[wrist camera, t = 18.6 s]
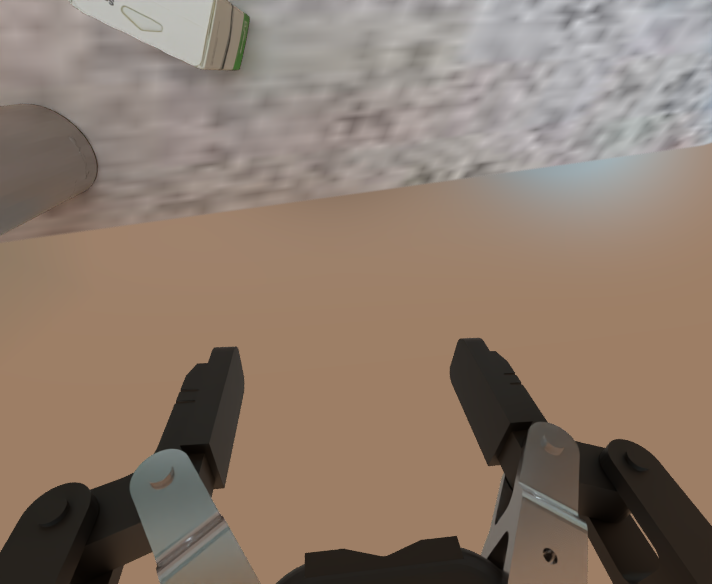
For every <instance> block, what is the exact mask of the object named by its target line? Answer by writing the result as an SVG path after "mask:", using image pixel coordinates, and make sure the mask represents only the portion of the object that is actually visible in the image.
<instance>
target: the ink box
mask: <svg viewBox="0 0 712 584" xmlns="http://www.w3.org/2000/svg"><path fill="white" fill-rule="evenodd" d="M69 2H70V3H71V5H72V6H73V7H75V8H77V9H78V10H80V11H81V12H82V13H83V14H86V15H88V16H91V17H93V18H95V19H97V20H99V21H101V22H102V23H104V24H106V25H108V26H110V27H112V28H115V29H117V30H120V31H122V32H124V33H126V34H128V35H130V36H132V37H134V38H136V39H137V40H139V41H142V42H144V43H146V44H148V45H151V46H153V47H155V48H157V49H159V50H161V51H163V52H164V53H166V54H169V55H171V56H173V57H175V58H177V59H180V60H182V61H184V62H186V63H188V64H190V65H192V66H194V67H196V68H199V69H205V70H239V69H240V65H241V61H242V57H243V52H244V47H245V43H246V38H247V32H248V26H249V16H248V15H247V14H245V13H244V12H242V11H241V10H240V9H238V8H237V7H235V6H234V5H233V4H231V3H230V2H228V1H227V0H69Z"/></svg>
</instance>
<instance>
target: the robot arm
mask: <svg viewBox="0 0 712 584" xmlns="http://www.w3.org/2000/svg"><path fill="white" fill-rule="evenodd" d="M96 173H97V163H96V159H95V155H94V153H93V150H92V148H91V146H90V144H89V143H88V141H87V140H86V138H85V137H84V136H83V134H82V133H81V132H80V131H79V130H78V129H77V128H76V127H75V126H74V125H73V124H72V123H70V122H69V121H68V120H67V119H66V118H64V117H62V116H61V115H59V114H57V113H56V112H54V111H52V110H49V109H47V108H44V107H41V106H37V105H33V104H17V105H9V106H1V107H0V235H2V234H4V233H6V232H8V231H10V230H12V229H14V228H15V227H17V226H19V225H21V224H23V223H25V222H27V221H29V220H31V219H33V218H34V217H36V216H38V215H40V214H42V213H44V212H46V211H48V210H50V209H51V208H53V207H55V206H57V205H59V204H61V203H63V202H65V201H67V200H69V199H71V198H72V197H74V196H76V195H78V194H80V193H82V192H84V191H86V190H87V189H88V188H89V187H90V186H91V185H92V184H93V182H94V180H95V178H96ZM450 379H451V383H452V385H453V387H454V390H455V392H456V394H457V396H458V399H459V401H460V403H461V405H462V408H463V410H464V412H465V415H466V417H467V419H468V421H469V424H470V426H471V428H472V430H473V433H474V435H475V437H476V439H477V442H478V444H479V446H480V449H481V451H482V453H483V455H484V458H485V460H486V462H487V464H488V466H495V465H501V467H502V469H503V471H504V474H503V476H502V479H501V483H500V487H499V492H498V496H497V500H496V505H495V509H494V514H493V518H492V522H491V527H490V531H489V534H488V536H487V539H486V541H485V544H484V547H483V550H482V553H481V555H479V554H477V553H475V552H472V551H470V550H467V549H464V548H460V545H459V542H458V539H457V536H452V537H444V538H435V539H426V540H420V541H418V542H416V543H414V544H412V545H409V546H407V547H405V548H403V549H401V550H399V551H397V552H395V553H392V554H390V555H388V556H377V555H372V554H367V553H362V552H357V551H352V550H347V549H338V550H329V551H320V552H311V553H305V564H304V565H302V566H300V567H298V568H296V569H294V570H292V571H291V572H290V573H288V574H286V575H285V576H284V577H283V578H282V579H280V580H279V581H278V582H277V583H276V584H587V572H588V538H589V539H590V541H591V543H592V545H593V547H594V549H595V551H596V552H597V554H598V556H599V558H600V560H601V562H602V564H603V565H604V567H605V569H606V571H607V573H608V575H609V577H610V579H611V580H612V582H613V584H712V526H711V525H710V523H709V522H708V521H707V520H706V519H705V517H704V516H703V515H702V514H701V513H700V511H699V510H698V509H697V508H696V506H695V505H694V504H693V503H692V501H691V500H690V499H689V498H688V496H687V495H686V494H685V493H684V492H683V490H682V489H681V488H680V487H679V485H678V484H677V483H676V482H675V481H674V479H673V478H672V477H671V476H670V474H669V473H668V472H667V471H666V470H665V468H664V467H663V466H662V465H661V463H660V462H659V461H658V460H657V459H656V458H655V457H654V456H653V455H652V454H651V453H650V452H649V451H647V450H646V449H645V448H643V447H641V446H640V445H638V444H635V443H634V442H631V441H628V440H623V439H616V440H613V441H611V442H610V443H609V444H608V445H607V447H606V448H603V447H598V446H594V445H590V444H585V443H581V442H577V441H574V439H573V438H572V437H571V436H570V435H569V434H568V433H567V432H566V431H564V430H563V429H562V428H560V427H558V426H556V425H554V424H551V423H548V422H547V421H546V419H545V418H544V416H543V415H542V413H541V412H540V410H539V409H538V407H537V406H536V404H535V402H534V401H533V400H532V398H531V397H530V395H529V393H528V392H527V390H526V389H525V388H524V386H523V385H521V381H520V380H519V378H518V377H517V376H516V375H515V372H514V371H513V369H512V368H511V366H510V365H509V363H508V362H507V361H506V360H505V359H504V358H503V357H502V356H500V355H499V354H498V353H497V352H496V351H489V349H488V347H487V346H486V344H485V343H484V341H483V340H482V339H481V338H465V339H459V340H458V342H457V346H456V349H455V353H454V356H453V359H452V363H451V366H450ZM243 393H244V375H243V370H242V365H241V360H240V355H239V350H238V348H237V347H220V348H219V347H216V348H214V349H213V350H212V353H211V356H210V359H209V362H208V363H203V364H197V365H196V366H195V367H194V368H193V369H192V370H191V371H190V372H189V373H188V374H187V375H186V377H185V380H184V382H183V385H182V387H181V392H180V393H179V395H178V397H177V400H176V404H175V405H174V407H173V410H172V413H171V415H170V417H169V420H168V423H167V425H166V427H165V430H164V432H163V435H162V438H161V440H160V443H159V445H158V447H157V450H156V451H155V453H154V454H153V455H151V456H150V457H148V458H147V459H146V460H145V461H143V462H142V463H141V464H140V465H139V467H138V468H137V469H136V470H135V472H134V473H132V474H130V475H128V476H126V477H124V478H121V479H119V480H116V481H113V482H110V483H108V484H105V485H102V486H99V487H97V488H94V489H91V490H89V488H88V487H87V486H85V485H84V484H81V483H67V484H63V485H60V486H57V487H55V488H53V489H51V490H49V491H48V492H46V493H44V494H43V495H42V496H40V497H39V498H38V499H37V500H35V501H34V502H33V503H32V504H31V505H30V506H29V507H28V508H27V510H26V511H25V512H24V513H23V515H22V516H21V518H20V519H19V521H18V523H17V524H16V526H15V528H14V530H13V531H12V533H11V535H10V537H9V539H8V540H7V542H6V543H5V545H4V547H3V549H2V550H1V552H0V584H118V582H119V579H120V576H121V572H122V569H123V566H124V565H125V564H127V563H129V562H131V561H133V560H136V559H138V558H140V557H142V556H144V555H146V554H148V553H151V552H153V554H154V556H155V560H156V563H157V568H156V570H157V574H158V578H159V581H160V584H261V583H260V581H259V580H258V578H257V576H256V574H255V572H254V571H253V569H252V567H251V565H250V564H249V562H248V560H247V558H246V556H245V555H244V553H243V551H242V549H241V547H240V546H239V544H238V542H237V540H236V538H235V537H234V535H233V533H232V531H231V530H230V528H229V526H228V524H227V522H226V521H225V519H224V518H223V516H221V514H220V513H219V511H218V509H217V508H216V506H215V504H214V502H213V500H212V499H211V497H212V493H213V489H219V488H224V487H225V483H226V477H227V472H228V468H229V462H230V458H231V453H232V448H233V443H234V438H235V433H236V429H237V424H238V419H239V414H240V409H241V404H242V399H243ZM631 513H632V514H633V516H634V517H635V519H636V520H637V522H638V523H639V525H640V526H641V528H642V529H643V531H644V532H645V534H646V535H647V537H648V539H649V540H650V541H651V543H652V545H653V546H654V548H655V549H656V551H657V554H658V556H659V558H658V556H657V555H656V553H655V552H654V550H653V549H652V547H651V546H650V544H649V543H648V541H647V540H646V538H645V537H644V535H643V533H642V532H641V530H640V529H639V527H638V526H637V524H636V523H635V521H634V520H633V518H632V517H631V515H630V514H631Z"/></svg>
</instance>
